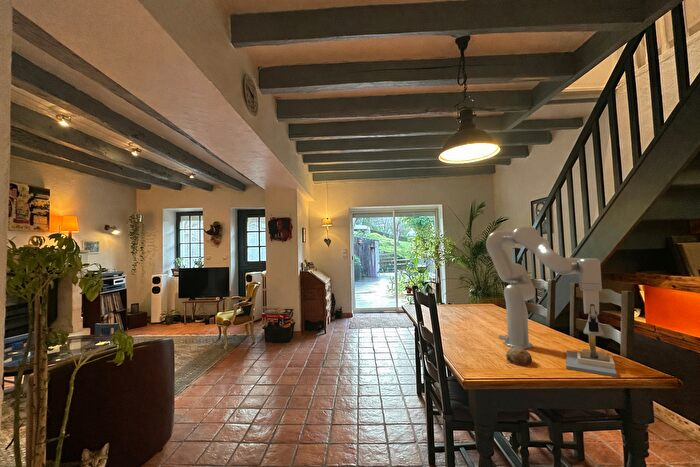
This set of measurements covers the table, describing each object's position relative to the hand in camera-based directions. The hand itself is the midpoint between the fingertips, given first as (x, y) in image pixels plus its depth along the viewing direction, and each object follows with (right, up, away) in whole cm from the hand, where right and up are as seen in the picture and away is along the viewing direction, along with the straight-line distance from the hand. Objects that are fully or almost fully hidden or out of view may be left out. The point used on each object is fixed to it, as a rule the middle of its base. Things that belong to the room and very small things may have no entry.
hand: (593, 329), depth 135 cm
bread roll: (-29, -16, +4) cm, 33 cm away
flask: (0, -2, 0) cm, 2 cm away
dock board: (-1, -15, 0) cm, 15 cm away
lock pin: (+7, -13, +10) cm, 18 cm away
